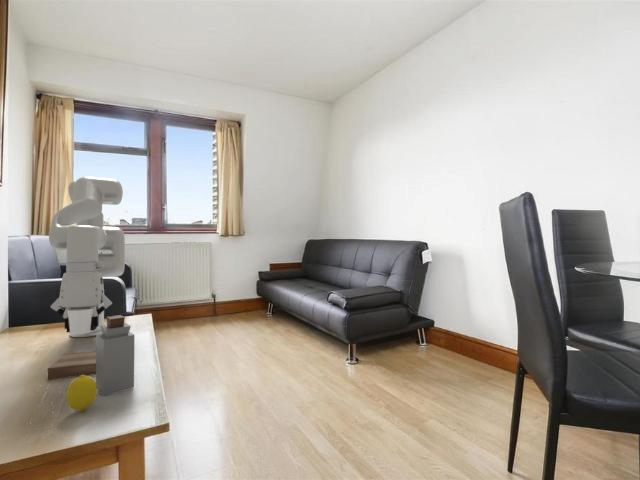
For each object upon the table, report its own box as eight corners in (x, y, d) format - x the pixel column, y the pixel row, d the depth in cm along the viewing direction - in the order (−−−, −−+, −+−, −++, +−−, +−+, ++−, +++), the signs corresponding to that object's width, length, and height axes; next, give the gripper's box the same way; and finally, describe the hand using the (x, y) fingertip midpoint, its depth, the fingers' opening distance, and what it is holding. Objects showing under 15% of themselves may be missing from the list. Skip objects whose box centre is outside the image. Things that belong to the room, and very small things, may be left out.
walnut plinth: (64, 363, 100) (64, 353, 100) (110, 359, 104) (110, 349, 104) (47, 379, 89) (47, 368, 89) (99, 373, 93) (99, 363, 93)
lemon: (76, 405, 75) (76, 370, 75) (102, 404, 76) (102, 369, 76) (59, 418, 70) (60, 380, 70) (87, 417, 70) (87, 379, 70)
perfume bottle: (95, 387, 84) (96, 317, 84) (125, 379, 89) (125, 312, 89) (103, 396, 80) (104, 321, 80) (133, 387, 85) (134, 317, 85)
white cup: (80, 336, 92) (81, 310, 92) (60, 334, 94) (60, 309, 94) (101, 329, 99) (102, 306, 99) (82, 328, 100) (82, 305, 100)
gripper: (119, 266, 103) (118, 324, 103) (52, 267, 97) (51, 329, 97) (113, 268, 96) (112, 331, 96) (40, 269, 90) (40, 336, 90)
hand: (81, 329), depth 96 cm, fingers closed on white cup, 5 cm apart
